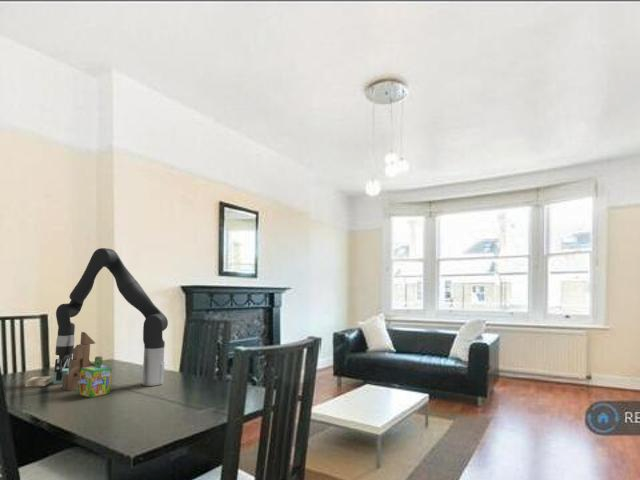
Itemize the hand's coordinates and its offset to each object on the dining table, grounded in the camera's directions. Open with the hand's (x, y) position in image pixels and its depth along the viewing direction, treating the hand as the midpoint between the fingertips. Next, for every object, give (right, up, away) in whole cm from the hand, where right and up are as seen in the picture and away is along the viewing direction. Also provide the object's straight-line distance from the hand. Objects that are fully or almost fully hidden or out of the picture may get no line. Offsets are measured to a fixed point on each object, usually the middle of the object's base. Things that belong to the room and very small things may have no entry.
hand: (62, 378), depth 199 cm
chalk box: (+27, 0, -20) cm, 34 cm away
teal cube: (0, -2, 0) cm, 2 cm away
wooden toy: (+14, -1, -8) cm, 16 cm away
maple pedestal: (-8, -2, -5) cm, 10 cm away
